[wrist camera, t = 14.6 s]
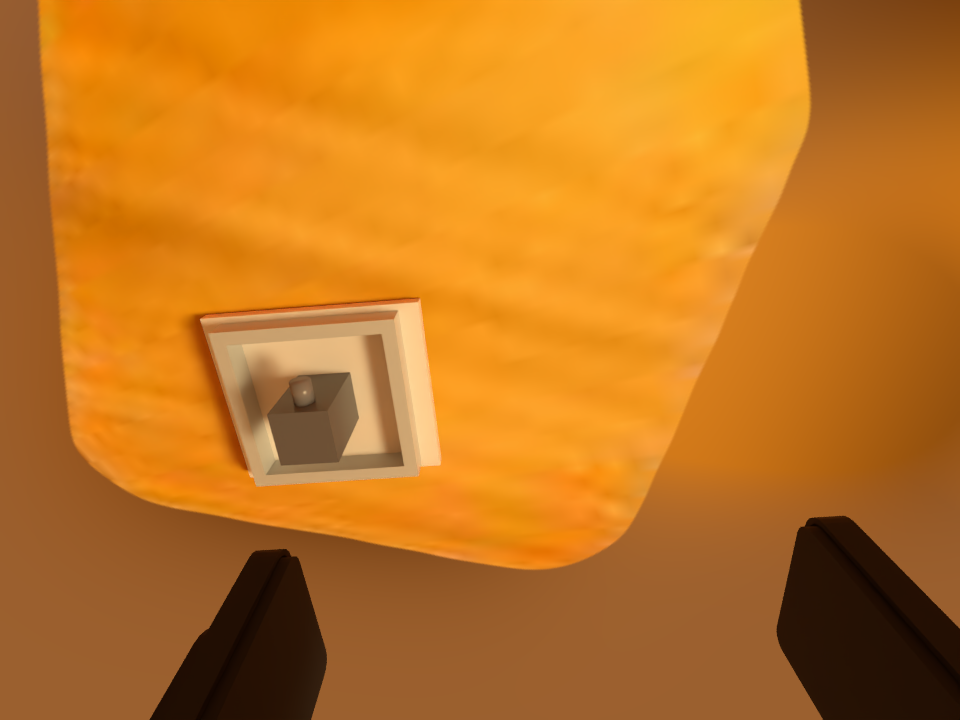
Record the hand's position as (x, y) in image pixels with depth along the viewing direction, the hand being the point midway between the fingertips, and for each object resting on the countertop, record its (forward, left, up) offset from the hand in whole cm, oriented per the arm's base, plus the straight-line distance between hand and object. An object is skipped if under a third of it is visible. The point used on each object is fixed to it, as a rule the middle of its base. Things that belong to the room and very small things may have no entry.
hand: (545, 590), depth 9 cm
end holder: (+9, -14, -28) cm, 33 cm away
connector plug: (+9, -14, -27) cm, 32 cm away
